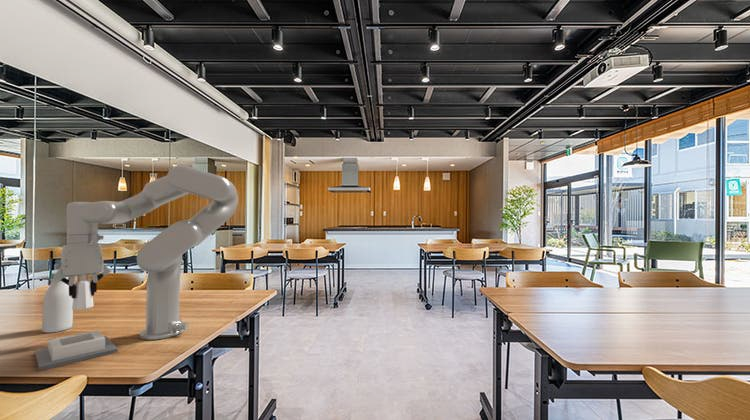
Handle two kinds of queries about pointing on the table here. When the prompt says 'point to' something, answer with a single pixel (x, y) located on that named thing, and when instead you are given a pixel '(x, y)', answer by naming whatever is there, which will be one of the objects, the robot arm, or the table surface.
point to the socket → (74, 349)
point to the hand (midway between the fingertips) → (82, 295)
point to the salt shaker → (82, 293)
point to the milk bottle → (57, 307)
